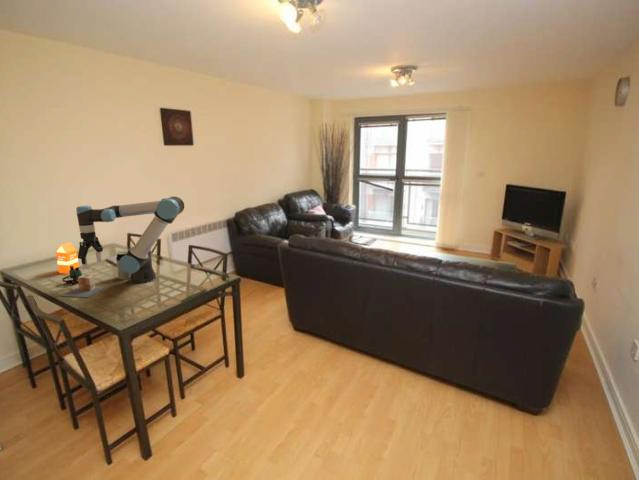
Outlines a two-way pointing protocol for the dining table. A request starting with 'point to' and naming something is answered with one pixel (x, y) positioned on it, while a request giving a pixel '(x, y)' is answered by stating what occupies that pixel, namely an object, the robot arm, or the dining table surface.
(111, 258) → the tablet
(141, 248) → the robot arm
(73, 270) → the binoculars
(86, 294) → the mat
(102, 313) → the dining table surface
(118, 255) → the travel mug
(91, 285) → the wooden block
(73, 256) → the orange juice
